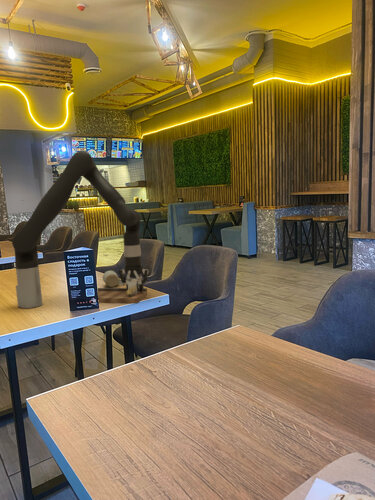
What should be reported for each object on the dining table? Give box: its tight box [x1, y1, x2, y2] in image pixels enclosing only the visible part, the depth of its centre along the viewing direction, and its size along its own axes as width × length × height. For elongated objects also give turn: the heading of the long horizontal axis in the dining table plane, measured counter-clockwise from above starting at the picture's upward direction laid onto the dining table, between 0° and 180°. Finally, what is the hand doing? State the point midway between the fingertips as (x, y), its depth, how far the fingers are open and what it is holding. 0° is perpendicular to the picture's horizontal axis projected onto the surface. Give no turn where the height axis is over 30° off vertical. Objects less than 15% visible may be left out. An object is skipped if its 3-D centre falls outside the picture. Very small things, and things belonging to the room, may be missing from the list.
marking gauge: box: [127, 278, 141, 297], centre depth 172 cm, size 4×10×6 cm, turn 167°
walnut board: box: [97, 287, 148, 304], centre depth 174 cm, size 24×14×3 cm, turn 77°
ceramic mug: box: [102, 270, 126, 288], centre depth 200 cm, size 11×8×8 cm
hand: (135, 291), depth 174 cm, fingers open, 5 cm apart
